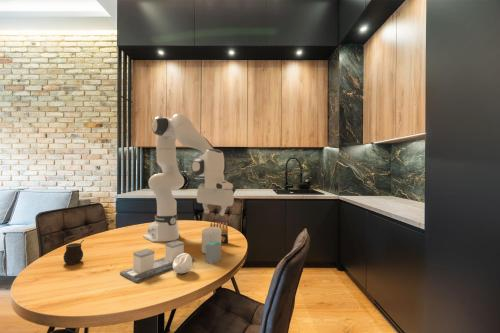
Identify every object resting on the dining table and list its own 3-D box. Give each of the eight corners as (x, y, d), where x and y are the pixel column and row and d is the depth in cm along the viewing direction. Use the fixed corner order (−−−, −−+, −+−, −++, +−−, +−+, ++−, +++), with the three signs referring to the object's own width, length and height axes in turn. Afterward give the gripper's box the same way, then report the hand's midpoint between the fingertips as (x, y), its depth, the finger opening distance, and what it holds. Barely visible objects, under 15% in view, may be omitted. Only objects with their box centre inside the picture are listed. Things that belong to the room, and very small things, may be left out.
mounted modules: (133, 270, 101) (133, 252, 101) (176, 255, 118) (176, 240, 118) (140, 273, 98) (140, 255, 98) (183, 257, 115) (183, 242, 115)
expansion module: (205, 262, 114) (205, 243, 115) (214, 258, 119) (214, 240, 119) (211, 264, 112) (212, 245, 112) (220, 260, 117) (221, 242, 117)
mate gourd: (65, 260, 113) (66, 238, 113) (85, 258, 116) (86, 237, 116) (60, 266, 107) (61, 243, 107) (82, 264, 110) (82, 241, 110)
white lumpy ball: (170, 270, 104) (171, 252, 104) (188, 267, 108) (189, 249, 108) (175, 278, 97) (175, 258, 97) (194, 274, 101) (194, 255, 101)
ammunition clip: (209, 242, 143) (209, 221, 143) (209, 241, 145) (210, 221, 145) (227, 243, 142) (227, 222, 142) (228, 242, 144) (228, 221, 144)
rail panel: (120, 274, 100) (120, 269, 100) (177, 255, 123) (177, 251, 123) (136, 283, 93) (136, 277, 93) (194, 260, 116) (194, 256, 116)
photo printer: (218, 248, 134) (218, 225, 134) (222, 250, 130) (222, 226, 130) (200, 251, 128) (200, 227, 128) (203, 254, 124) (204, 229, 124)
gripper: (193, 183, 119) (193, 212, 119) (226, 185, 107) (226, 218, 107) (203, 182, 124) (203, 211, 124) (235, 184, 112) (235, 215, 112)
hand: (214, 214), depth 116 cm, fingers open, 8 cm apart
